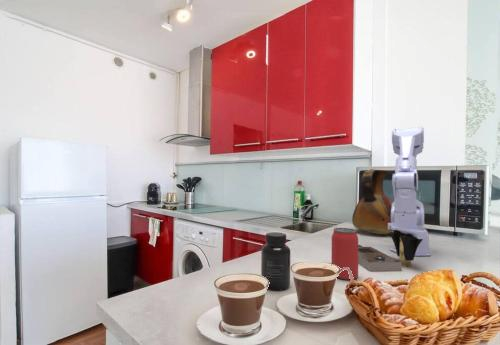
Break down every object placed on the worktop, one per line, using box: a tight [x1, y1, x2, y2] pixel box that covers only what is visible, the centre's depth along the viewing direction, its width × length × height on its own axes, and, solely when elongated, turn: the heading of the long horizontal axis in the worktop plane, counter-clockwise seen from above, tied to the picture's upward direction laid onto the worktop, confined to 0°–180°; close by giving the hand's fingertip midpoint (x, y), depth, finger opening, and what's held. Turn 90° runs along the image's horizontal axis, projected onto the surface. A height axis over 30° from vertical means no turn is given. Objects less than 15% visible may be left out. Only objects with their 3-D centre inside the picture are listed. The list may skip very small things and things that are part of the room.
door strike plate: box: [358, 244, 403, 272], centre depth 85 cm, size 24×9×3 cm, turn 4°
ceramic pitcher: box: [352, 168, 394, 236], centre depth 125 cm, size 20×20×30 cm
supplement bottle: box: [260, 231, 291, 292], centre depth 63 cm, size 7×7×12 cm
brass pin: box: [399, 238, 412, 267], centre depth 79 cm, size 3×3×8 cm
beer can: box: [331, 227, 359, 281], centre depth 70 cm, size 7×7×12 cm
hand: (405, 258), depth 79 cm, fingers closed on brass pin, 3 cm apart
